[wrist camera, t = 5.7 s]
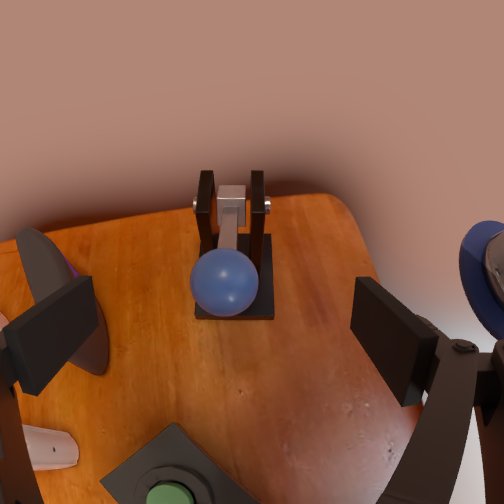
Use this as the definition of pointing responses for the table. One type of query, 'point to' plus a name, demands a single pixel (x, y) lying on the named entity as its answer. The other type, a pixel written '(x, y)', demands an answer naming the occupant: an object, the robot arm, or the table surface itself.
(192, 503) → the green button
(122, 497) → the button box
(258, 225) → the switch bracket
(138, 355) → the table surface
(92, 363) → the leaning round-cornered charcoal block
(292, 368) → the table surface
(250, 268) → the lever
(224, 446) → the table surface
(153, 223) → the table surface
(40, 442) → the photo printer
